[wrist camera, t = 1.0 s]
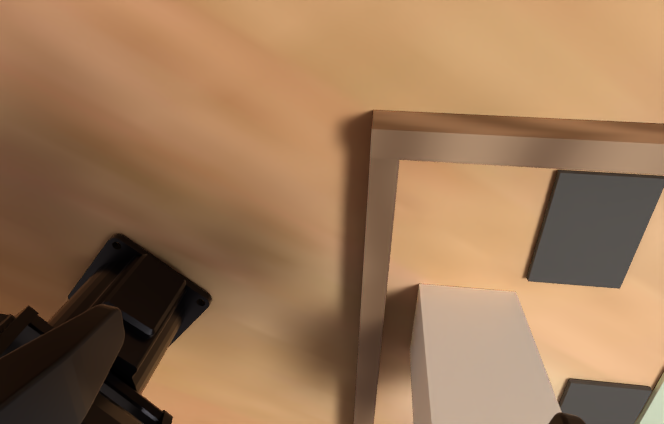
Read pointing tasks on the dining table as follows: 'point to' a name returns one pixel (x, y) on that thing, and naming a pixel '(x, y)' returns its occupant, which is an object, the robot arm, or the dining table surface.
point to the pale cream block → (476, 360)
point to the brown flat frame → (557, 228)
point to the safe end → (654, 406)
